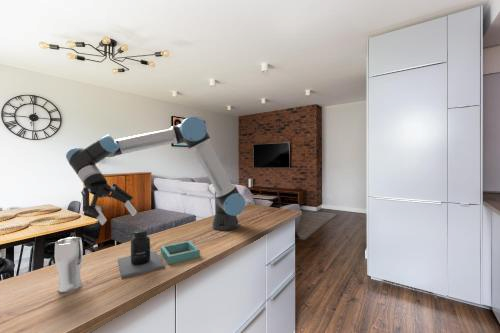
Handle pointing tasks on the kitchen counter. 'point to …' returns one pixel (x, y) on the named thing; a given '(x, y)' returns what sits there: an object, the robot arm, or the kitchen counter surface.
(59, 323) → the kitchen counter surface
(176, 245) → the teal collar
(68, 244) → the beer glass
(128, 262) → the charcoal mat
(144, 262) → the supplement bottle
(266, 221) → the kitchen counter surface
